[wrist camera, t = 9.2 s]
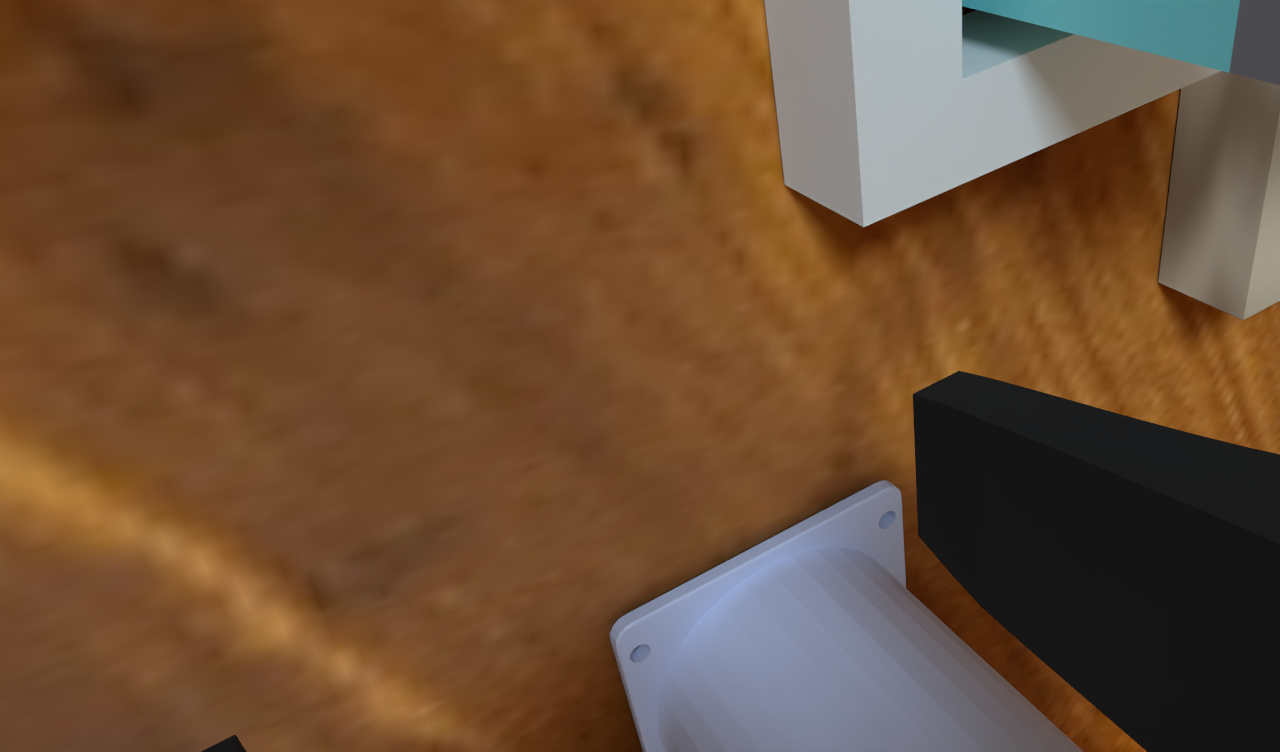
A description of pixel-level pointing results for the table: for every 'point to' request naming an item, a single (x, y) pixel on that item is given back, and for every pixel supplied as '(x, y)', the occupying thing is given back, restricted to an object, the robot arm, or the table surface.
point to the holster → (1225, 195)
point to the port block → (935, 96)
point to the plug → (1167, 28)
